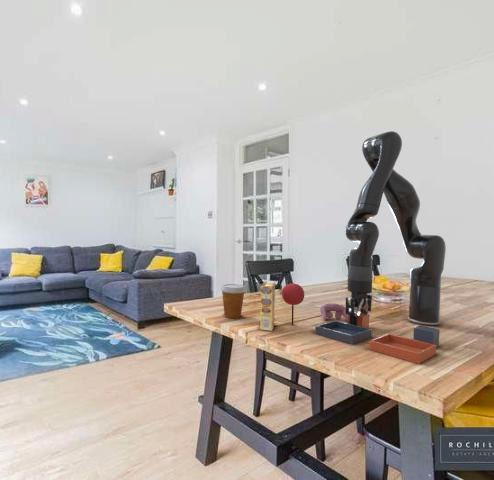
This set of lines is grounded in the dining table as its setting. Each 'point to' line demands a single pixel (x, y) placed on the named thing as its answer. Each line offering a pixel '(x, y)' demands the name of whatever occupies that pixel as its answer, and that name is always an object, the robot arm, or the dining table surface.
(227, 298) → the disposable coffee cup
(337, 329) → the slate tray
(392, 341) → the terracotta tray
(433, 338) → the slate block
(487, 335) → the dining table surface
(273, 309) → the candy box
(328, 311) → the toy elephant
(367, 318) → the terracotta block
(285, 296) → the lollipop
